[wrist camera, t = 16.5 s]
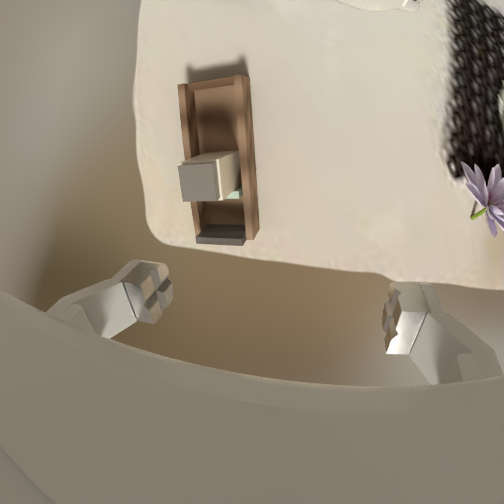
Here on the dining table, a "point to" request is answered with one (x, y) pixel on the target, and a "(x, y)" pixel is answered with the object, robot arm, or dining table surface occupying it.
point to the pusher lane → (215, 140)
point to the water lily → (487, 195)
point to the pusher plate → (236, 193)
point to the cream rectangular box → (210, 176)
